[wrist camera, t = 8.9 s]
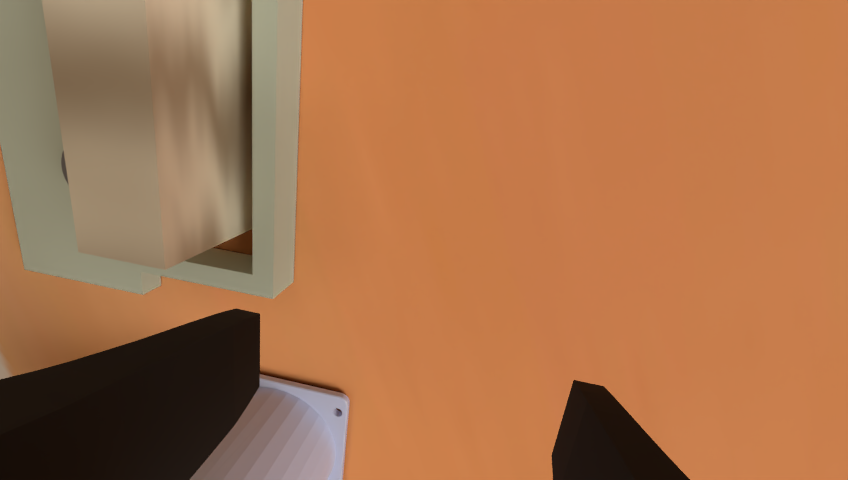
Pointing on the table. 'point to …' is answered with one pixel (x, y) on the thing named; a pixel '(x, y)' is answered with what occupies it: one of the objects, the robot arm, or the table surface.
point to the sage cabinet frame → (47, 176)
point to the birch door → (154, 123)
